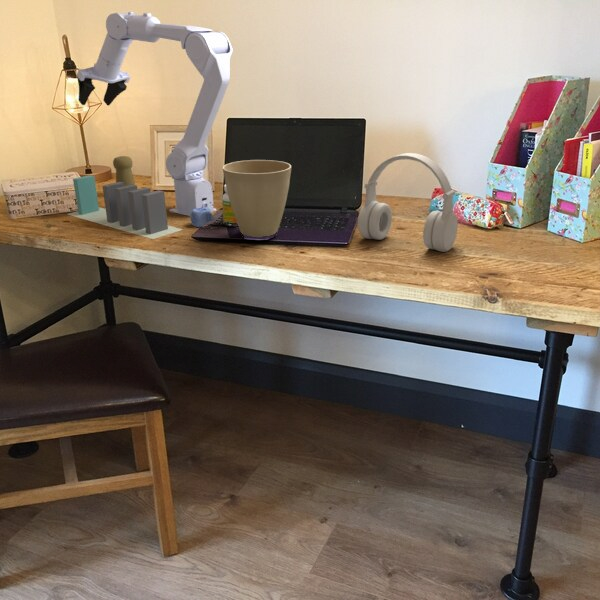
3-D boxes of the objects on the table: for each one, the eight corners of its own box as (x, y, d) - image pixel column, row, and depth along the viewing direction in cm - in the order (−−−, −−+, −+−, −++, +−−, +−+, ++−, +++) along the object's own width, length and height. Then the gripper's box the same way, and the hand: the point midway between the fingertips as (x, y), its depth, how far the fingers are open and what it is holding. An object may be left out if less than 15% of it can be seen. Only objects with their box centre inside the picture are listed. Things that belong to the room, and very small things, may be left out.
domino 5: (168, 229, 155) (164, 191, 151) (150, 234, 151) (146, 195, 148) (163, 227, 156) (159, 190, 152) (146, 233, 152) (141, 194, 149)
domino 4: (154, 225, 158) (150, 188, 154) (137, 230, 154) (132, 192, 151) (149, 224, 159) (145, 187, 155) (132, 229, 155) (128, 191, 152)
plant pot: (279, 249, 140) (277, 175, 134) (215, 243, 145) (210, 171, 139) (301, 229, 153) (300, 160, 147) (243, 224, 158) (239, 157, 152)
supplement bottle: (220, 227, 156) (217, 187, 152) (228, 221, 161) (225, 181, 157) (242, 229, 155) (240, 188, 151) (249, 222, 160) (247, 182, 156)
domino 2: (128, 218, 164) (124, 182, 160) (111, 223, 160) (106, 186, 157) (124, 217, 165) (119, 181, 161) (107, 222, 161) (102, 185, 158)
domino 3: (141, 221, 161) (137, 185, 157) (124, 226, 157) (119, 189, 154) (136, 220, 162) (132, 184, 158) (119, 225, 158) (114, 188, 155)
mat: (183, 230, 154) (183, 229, 154) (152, 240, 148) (152, 239, 148) (97, 207, 175) (97, 206, 175) (66, 215, 169) (66, 214, 168)
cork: (131, 192, 190) (127, 153, 186) (141, 196, 186) (137, 156, 181) (112, 195, 186) (106, 156, 182) (121, 199, 182) (116, 159, 178)
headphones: (355, 242, 144) (357, 153, 137) (373, 232, 151) (376, 146, 143) (442, 257, 134) (448, 162, 127) (457, 246, 141) (464, 155, 133)
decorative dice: (199, 229, 155) (198, 212, 154) (190, 225, 158) (189, 209, 157) (214, 226, 158) (212, 209, 156) (205, 222, 161) (203, 206, 159)
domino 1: (99, 210, 171) (94, 176, 168) (82, 214, 168) (76, 179, 164) (95, 209, 172) (90, 175, 169) (78, 213, 169) (72, 178, 165)
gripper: (126, 50, 172) (109, 93, 180) (77, 45, 161) (61, 92, 169) (141, 67, 170) (123, 110, 178) (92, 64, 159) (75, 110, 167)
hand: (94, 102), depth 173 cm, fingers open, 7 cm apart
